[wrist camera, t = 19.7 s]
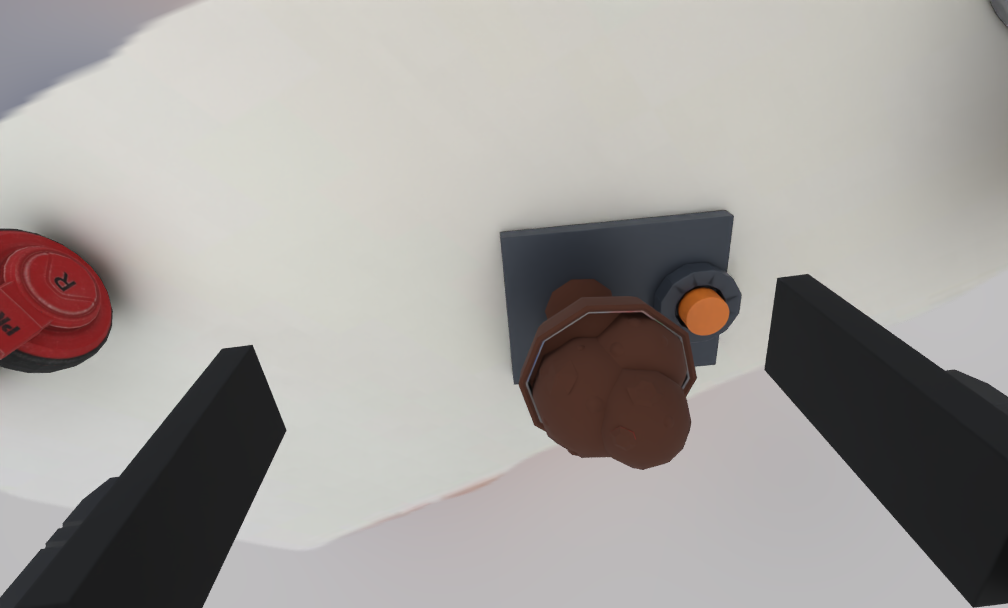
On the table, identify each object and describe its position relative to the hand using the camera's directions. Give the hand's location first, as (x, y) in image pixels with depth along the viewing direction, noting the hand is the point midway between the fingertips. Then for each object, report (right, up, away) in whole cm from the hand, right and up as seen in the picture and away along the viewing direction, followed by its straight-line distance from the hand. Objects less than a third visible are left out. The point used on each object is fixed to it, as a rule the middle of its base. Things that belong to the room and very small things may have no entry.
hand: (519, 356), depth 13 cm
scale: (+8, +2, +29) cm, 30 cm away
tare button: (+14, +1, +26) cm, 30 cm away
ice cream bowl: (+6, +1, +27) cm, 28 cm away
